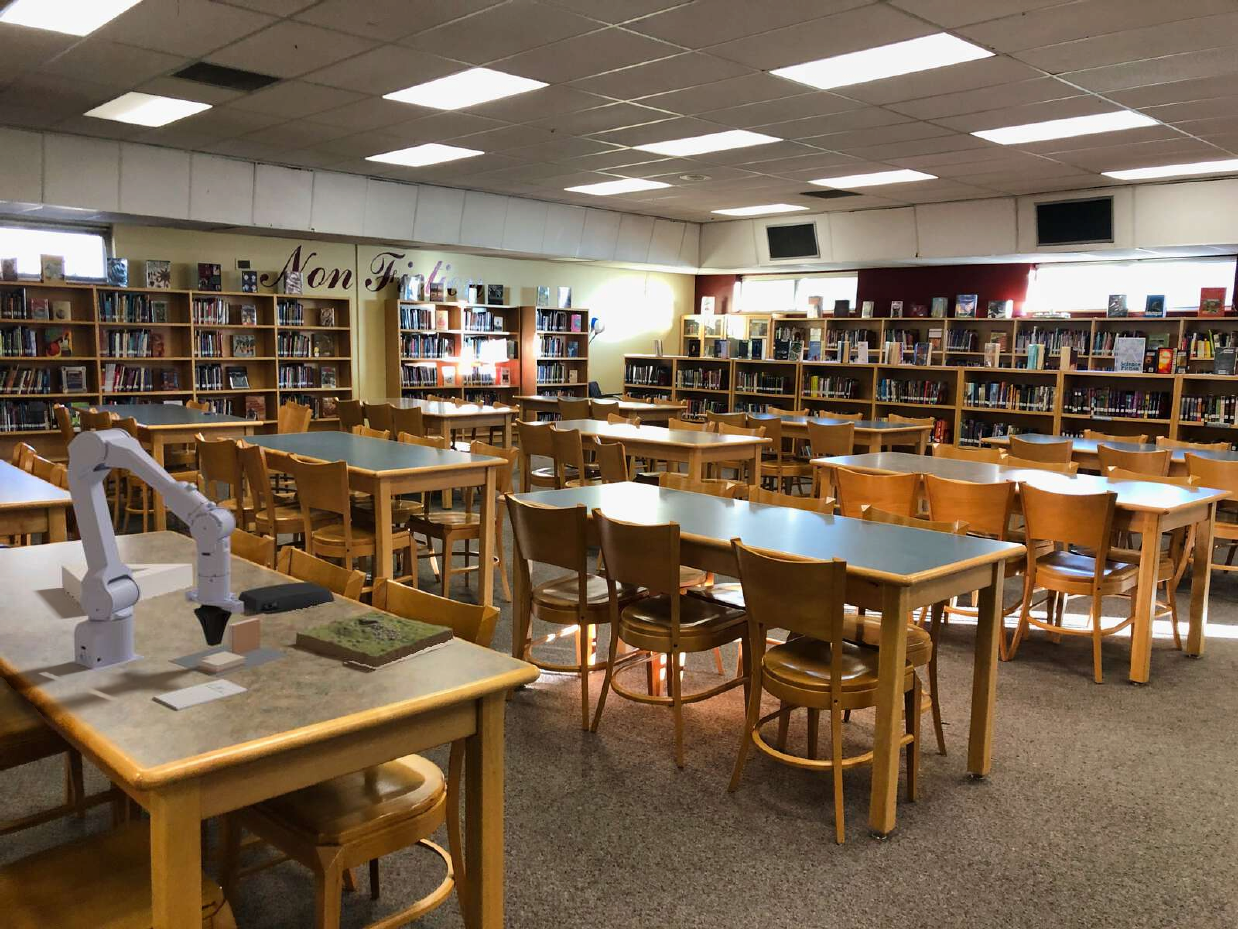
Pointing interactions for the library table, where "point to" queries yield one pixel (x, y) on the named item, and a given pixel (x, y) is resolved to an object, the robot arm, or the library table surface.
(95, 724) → the library table surface
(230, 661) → the tile left
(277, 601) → the external hard drive
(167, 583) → the triangle block
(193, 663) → the slate mat
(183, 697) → the external hard drive
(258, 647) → the tile right
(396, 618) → the miniature landscape model
